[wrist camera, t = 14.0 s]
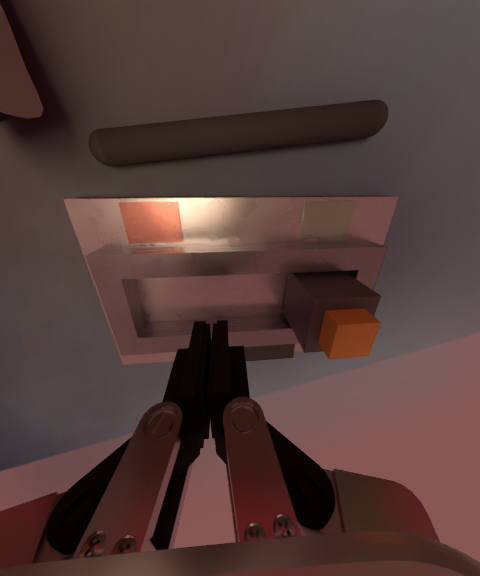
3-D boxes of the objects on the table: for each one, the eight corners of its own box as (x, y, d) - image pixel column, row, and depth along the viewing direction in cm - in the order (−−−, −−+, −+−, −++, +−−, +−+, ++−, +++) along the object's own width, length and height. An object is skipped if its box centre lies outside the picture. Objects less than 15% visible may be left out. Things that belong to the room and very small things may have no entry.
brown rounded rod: (377, 104, 13) (399, 93, 11) (371, 138, 14) (391, 132, 12) (93, 134, 12) (75, 127, 11) (105, 168, 13) (90, 166, 12)
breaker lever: (337, 266, 16) (400, 309, 11) (327, 309, 18) (376, 364, 12) (288, 268, 16) (326, 313, 10) (283, 311, 18) (313, 370, 12)
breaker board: (383, 195, 16) (424, 198, 12) (342, 338, 22) (362, 363, 19) (78, 197, 14) (37, 201, 11) (129, 352, 20) (113, 383, 17)
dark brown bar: (289, 331, 21) (295, 343, 19) (287, 344, 22) (293, 357, 20) (189, 337, 20) (187, 351, 18) (191, 351, 21) (189, 365, 19)
